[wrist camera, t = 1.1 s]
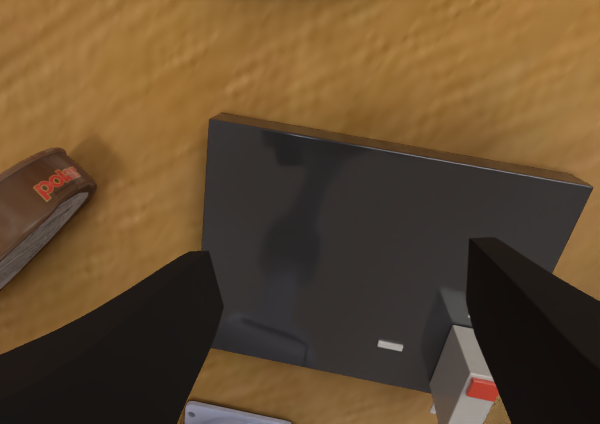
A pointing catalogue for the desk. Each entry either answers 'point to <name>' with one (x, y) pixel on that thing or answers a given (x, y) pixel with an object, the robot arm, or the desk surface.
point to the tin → (38, 206)
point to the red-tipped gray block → (462, 381)
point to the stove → (361, 243)
